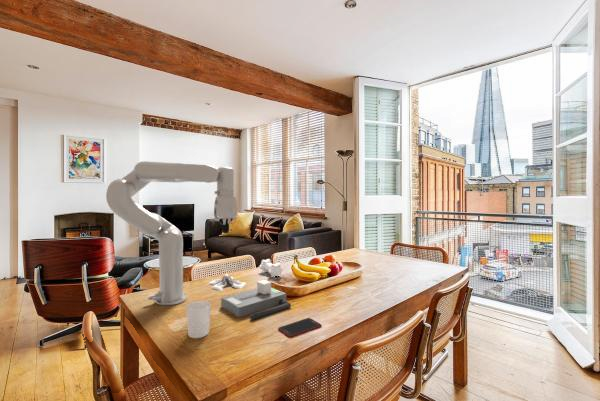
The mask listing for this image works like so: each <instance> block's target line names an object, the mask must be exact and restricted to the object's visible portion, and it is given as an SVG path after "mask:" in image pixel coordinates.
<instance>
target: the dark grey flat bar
mask: <svg viewBox="0 0 600 401" xmlns="http://www.w3.org/2000/svg"><path fill="white" fill-rule="evenodd" d="M279 303H280V304H279V305H276V306H273V307H270V308H267V309H264V310H261V311H258V312H255V313H251V314H249V320H252V321H253V320H256V319H260V318H264V317H265V316H268V315H272V314H275V313H277V312H281V311H283V310H286V309H288V308H291V307H292V305H291V303H290V302H288V301H287V300H286V301H284V300H280V302H279Z"/></svg>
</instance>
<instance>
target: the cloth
mask: <svg viewBox="0 0 600 401" xmlns="http://www.w3.org/2000/svg"><path fill="white" fill-rule="evenodd" d="M208 285H212V286H211V287H210V289H211V290H215V291H223V290H224V289H225V288H227V287H229V286H230V287H231V288H234V289H237V290H242V289H244V287H245V286H246V285H247V283H246V282H243V281H242V282H241V281H240V280H238V279H236V280H234V277H232V276H230V275H229V274H228V273H225V274H224V275H223V276H222V278H221V279H220V278H219V279H214V280H212V281H209V282H208Z"/></svg>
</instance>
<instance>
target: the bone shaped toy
mask: <svg viewBox="0 0 600 401" xmlns="http://www.w3.org/2000/svg"><path fill="white" fill-rule="evenodd" d="M271 261H272V260H271V259H270V258H267V259H262V260H261V263H260V265H258V268H259V269H260V270H261V273H262V274H265V273H269V275H271V278H272V277H275V276H277V277H278V275H281V276H282V272H283V271H284V268H283V267H282V266H281V263H280V262H276V263H272V262H271ZM275 278H276V277H275Z"/></svg>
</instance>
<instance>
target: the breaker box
mask: <svg viewBox="0 0 600 401" xmlns="http://www.w3.org/2000/svg"><path fill="white" fill-rule="evenodd" d="M280 300H284V301H287V293H285V292H283V291H282V290H278V289H276V288H274V287H272V286H271V293H268V294H261V293H259V292H257V288H253V289H249V290H246V291H242V292H239V293H235V294H231V295H226V296H223V297H221V298H220V304H221V305H220V307H221V308H223V309H224V310H226V312H229V313H230V314H232V315H233V316H235V317H237V318H242V317H244V316H248V315H252V314H255V313H258V312H261V311H264V310H267V309H270V308H273V307H276V306H279V305H281V304H280V303H279V302H280Z"/></svg>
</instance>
